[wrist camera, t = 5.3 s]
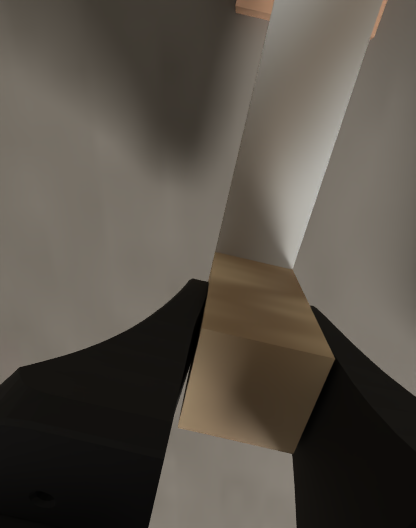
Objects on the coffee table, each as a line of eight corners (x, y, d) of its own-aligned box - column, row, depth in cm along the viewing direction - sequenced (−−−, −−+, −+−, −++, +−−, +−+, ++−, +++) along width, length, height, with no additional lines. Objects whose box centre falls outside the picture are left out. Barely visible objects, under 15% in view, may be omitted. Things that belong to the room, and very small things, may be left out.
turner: (395, -56, 9) (665, -397, 3) (268, 327, 14) (293, 454, 8) (292, -79, 9) (391, -462, 3) (201, 311, 14) (177, 427, 8)
